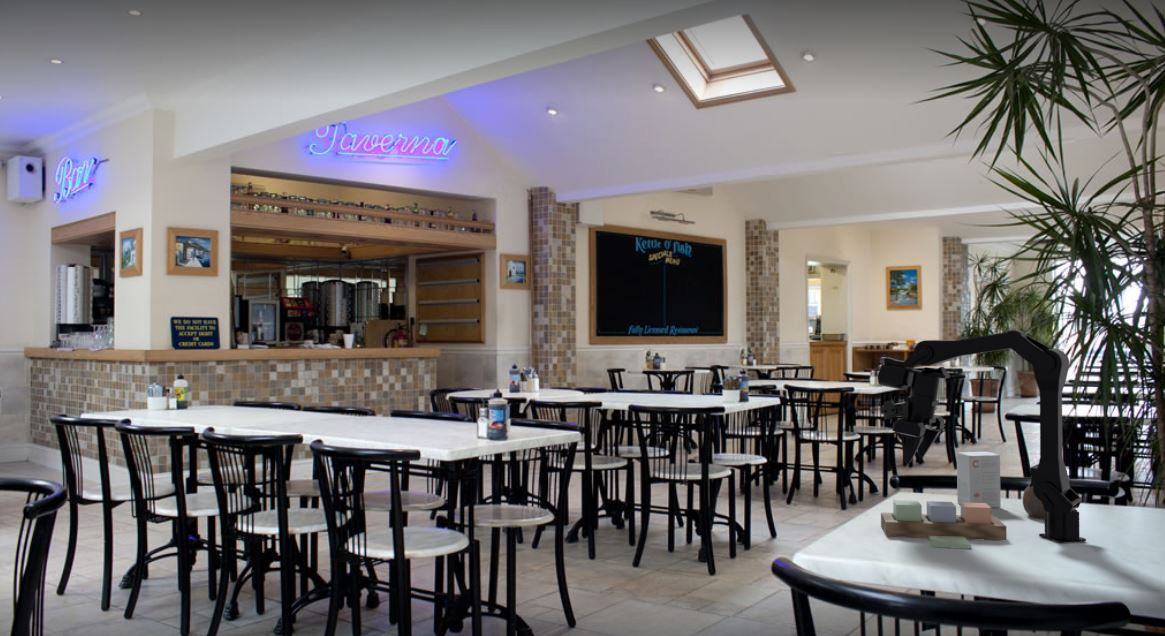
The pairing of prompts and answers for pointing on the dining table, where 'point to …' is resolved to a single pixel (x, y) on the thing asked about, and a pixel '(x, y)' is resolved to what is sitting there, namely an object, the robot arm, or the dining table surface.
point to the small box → (978, 478)
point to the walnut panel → (943, 528)
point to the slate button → (941, 511)
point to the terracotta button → (975, 513)
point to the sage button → (907, 510)
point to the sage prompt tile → (949, 541)
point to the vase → (1032, 504)
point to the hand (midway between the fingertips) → (913, 460)
